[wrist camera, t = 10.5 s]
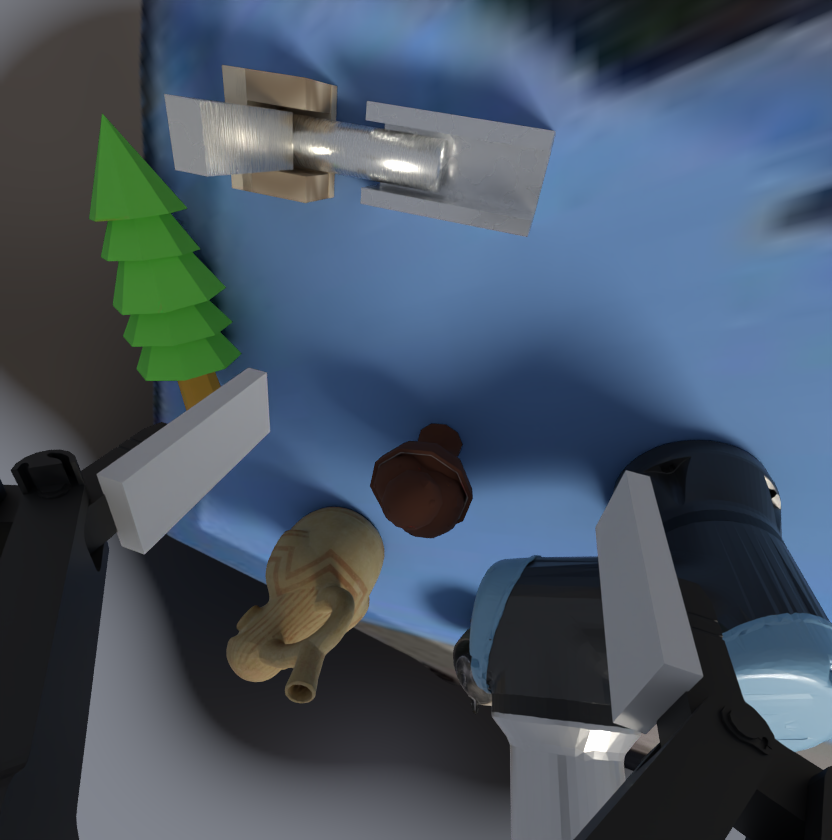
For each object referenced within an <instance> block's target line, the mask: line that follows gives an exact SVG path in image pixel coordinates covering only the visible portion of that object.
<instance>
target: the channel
mask: <svg viewBox="0 0 832 840" xmlns="http://www.w3.org/2000/svg"><path fill="white" fill-rule="evenodd" d="M366 120H368V121H374V122H380V123H385V129H387V130H393V131H399V132H405V133H411V134H417V135H422V136H428V137H434V138H440V139H446V140H447V141H448V147H449V152H448V163H447V170H446V175H445V179H444V183H443V186H442V188H441V190H440V192H439V193H435V192H430V191H424V190H419V189H414V188H409V187H403V186H398V185H393V184H388V183H382V182H380V184H377V185H372V186H367V187H362V188H361V204H365V205H370V206H375V207H380V208H385V209H390V210H395V211H400V212H405V213H410V214H415V215H420V216H425V217H430V218H435V219H440V220H445V221H450V222H455V223H460V224H465V225H470V226H475V227H480V228H485V229H490V230H495V231H500V232H505V233H510V234H515V235H520V236H525V237H527V236H528V234H529V231H530V228H531V226H532V222H533V218H534V214H535V210H536V207H537V203H538V199H539V195H540V192H541V188H542V184H543V180H544V176H545V173H546V169H547V165H548V161H549V157H550V154H551V150H552V146H553V142H554V139H555V135H556V132H555V131H551V130H545V129H539V128H533V127H526V126H520V125H514V124H508V123H502V122H495V121H489V120H483V119H477V118H470V117H464V116H458V115H452V114H446V113H439V112H433V111H427V110H421V109H415V108H408V107H402V106H396V105H390V104H384V103H377V102H371V101H367V107H366Z"/></svg>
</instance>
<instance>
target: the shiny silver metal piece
mask: <svg viewBox="0 0 832 840" xmlns="http://www.w3.org/2000/svg"><path fill="white" fill-rule="evenodd" d="M164 96H165V103H166V110H167V117H168V124H169V130H170V137H171V144H172V151H173V158H174V165H175V170H178V171H183V172H188V173H193V174H198V175H203V176H220V175H232V174H244V173H257V172H269V171H281V170H293V166H298V167H303V168H309V169H314V170H319V171H324V172H330V173H335V174H340V175H345V176H351V177H356V178H361V179H367V180H372V181H377V182H382V183H388V184H393V185H398V186H403V187H409V188H414V189H419V190H424V191H430V192H435V193H439V192H440V190H441V188H442V186H443V183H444V179H445V175H446V170H447V163H448V152H449V147H448V141H447V140H446V139H440V138H434V137H428V136H422V135H417V134H411V133H405V132H399V131H393V130H387V129H381V128H376V127H370V126H364V125H358V124H352V123H346V122H340V121H334V120H329V119H323V118H317V117H311V116H305V115H299V114H293V112H288V111H282V110H276V109H270V108H264V107H256V106H249V105H242V104H234V103H227V102H219V101H212V100H205V99H197V98H190V97H182V96H175V95H168V94H164Z"/></svg>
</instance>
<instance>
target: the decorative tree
mask: <svg viewBox="0 0 832 840" xmlns="http://www.w3.org/2000/svg"><path fill="white" fill-rule="evenodd" d="M184 209H187V207H186V206H185V205H184V204H183V203H182V202H181V200H180V199H179V198H178V197H177V196H176V195H175V194H174V193H173V192H172V190H171V189H170V188H169V187H168V186H167V185H166V184H165V183H164V182H163V180H162V179H161V178H160V177H159V176H158V175H157V174H156V173H155V171H154V170H153V169H152V168H151V167H150V166H149V165H148V164H147V163H146V161H145V160H144V159H143V158H142V157H141V156H140V155H139V154H138V153H137V151H136V150H135V149H134V148H133V147H132V146H131V145H130V144H129V143H128V142H127V140H126V139H125V138H124V137H123V136H122V135H121V134H120V133H119V132H118V130H117V129H116V128H115V127H114V126H113V125H112V124H111V123H110V121H109V120H108V119H107V118H106V117H105V116H104V115H103V114H102V118H101V127H100V134H99V143H98V151H97V159H96V167H95V175H94V184H93V192H92V200H91V209H90V217H89V219H90V220H93V221H95V222H96V221H97V222H98V221H108V223H107V228H106V234H105V239H104V243H103V248H102V254H101V257H102V258H103V259H105V260H107V261H119V262H118V270H117V277H116V285H115V292H114V300H113V306H114V307H115V308H116V309H117V310H118V311H119V312H120V313H121V314H122V315H129V314H131V315H130V318H129V321H128V324H127V327H126V330H125V332H124V335H123V337H124V338H125V339H126V340H127V341H128V342H129V344H130V345H131V346H132V347H136V346H138V347H140V346H143V348H142V352H141V355H140V359H139V362H138V366H137V370H138V371H139V373H140V374H141V375H142V376H143V378H144V379H145V380H146V381H178V384H179V388H180V391H181V394H182V397H183V401H184V404H185V407H186V411H187V410H189V409H190V408H192V407H193V406H194V405H196V404H197V403H199V402H200V401H201V400H203V399H204V398H206V397H207V396H209V395H210V394H211V393H213V392H214V391H216V390H217V389H219V388H220V387H221V386H220V383H219V381H218V378H217V376H216V373H215V372H216V371H219V370H222V369H226V368H227V367H228V366H229V365H230V364H231V363H232V362H233V361H234V360H235V359H236V358H238V357H239V356H240V355H241V354H242V353H241V352H240V351H239V350H238V349H237V348H236V347H235V346H234V345H233V344H232V343H231V342H230V341H229V340H228V339H227V338H226V337H225V336H224V335H223V334H222V333H221V332H220V331H222V330H223V329H224V328H226V327H227V326H228V325H230V324H231V323H232V321H231V320H230V319H229V318H228V317H227V316H226V315H225V314H224V313H223V312H221V311H220V310H219V309H218V308H217V307H216V306H215V305H214V304H213V303H212V302H211V301H209V300H210V299H211V298H213V297H214V296H215V295H217V294H218V293H219V292H221V291H222V290H223V289H225V288H226V287H225V286H224V285H223V284H222V283H221V282H220V281H219V280H218V278H217V277H216V276H215V275H214V274H213V273H212V272H211V271H210V270H209V269H208V268H207V267H206V266H205V265H204V264H203V263H202V262H201V261H200V260H199V259H198V258H197V257H196V256H195V255H194V254H193V251H196V250H199V249H200V248H199V247H198V246H197V244H196V243H195V242H194V241H193V240H192V238H191V237H190V236H189V235H188V234H187V232H186V231H185V230H184V229H183V228H182V226H181V225H180V224H179V223H178V222H177V220H176V219H175V218H174V217H173V216H172V214H171V213H173V212H177V211H180V210H184Z"/></svg>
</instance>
